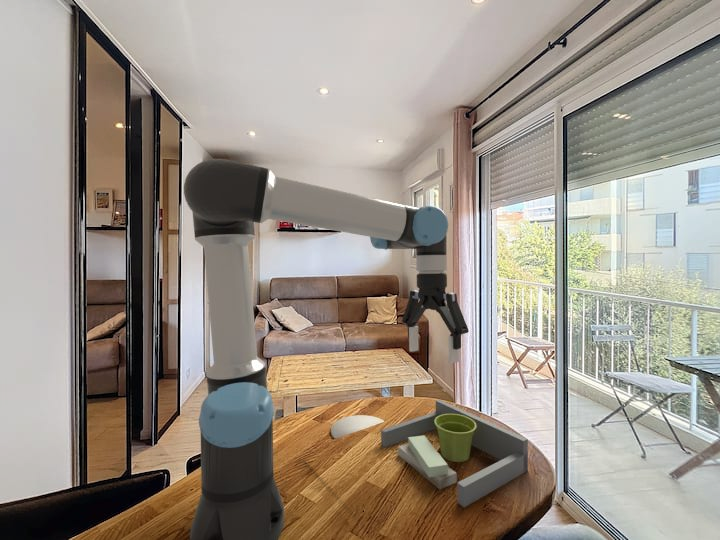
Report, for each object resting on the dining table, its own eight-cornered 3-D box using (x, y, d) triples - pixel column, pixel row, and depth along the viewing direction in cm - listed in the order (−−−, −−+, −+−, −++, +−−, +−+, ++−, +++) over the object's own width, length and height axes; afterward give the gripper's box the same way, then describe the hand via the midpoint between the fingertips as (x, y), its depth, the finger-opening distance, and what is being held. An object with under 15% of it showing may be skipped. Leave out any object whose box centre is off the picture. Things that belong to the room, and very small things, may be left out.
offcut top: (429, 477, 66) (428, 467, 66) (408, 445, 78) (408, 437, 78) (447, 474, 67) (447, 464, 67) (424, 443, 79) (424, 435, 79)
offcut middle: (439, 490, 65) (439, 479, 65) (398, 455, 78) (398, 446, 78) (456, 482, 68) (456, 472, 68) (413, 449, 80) (413, 441, 80)
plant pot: (484, 460, 77) (484, 423, 77) (461, 477, 71) (460, 437, 71) (450, 444, 84) (450, 410, 84) (426, 458, 78) (426, 421, 78)
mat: (349, 452, 81) (349, 450, 81) (321, 426, 95) (321, 424, 95) (401, 434, 90) (401, 432, 90) (368, 412, 103) (368, 410, 103)
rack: (464, 514, 60) (463, 470, 60) (381, 450, 82) (380, 417, 82) (527, 476, 71) (527, 439, 71) (439, 428, 93) (439, 399, 93)
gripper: (483, 272, 76) (484, 365, 77) (408, 271, 97) (409, 344, 97) (462, 273, 72) (463, 371, 72) (388, 272, 93) (389, 348, 93)
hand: (432, 356), depth 85 cm, fingers open, 13 cm apart
